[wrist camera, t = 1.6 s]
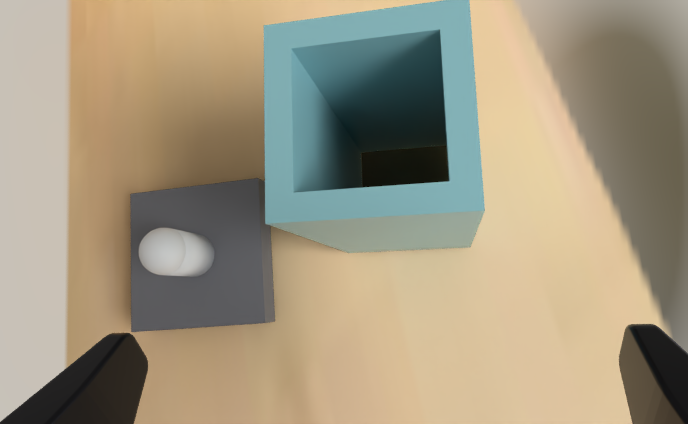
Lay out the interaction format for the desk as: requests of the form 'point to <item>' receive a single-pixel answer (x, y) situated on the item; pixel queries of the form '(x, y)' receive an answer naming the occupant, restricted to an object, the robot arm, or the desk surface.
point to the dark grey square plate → (201, 257)
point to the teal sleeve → (372, 126)
